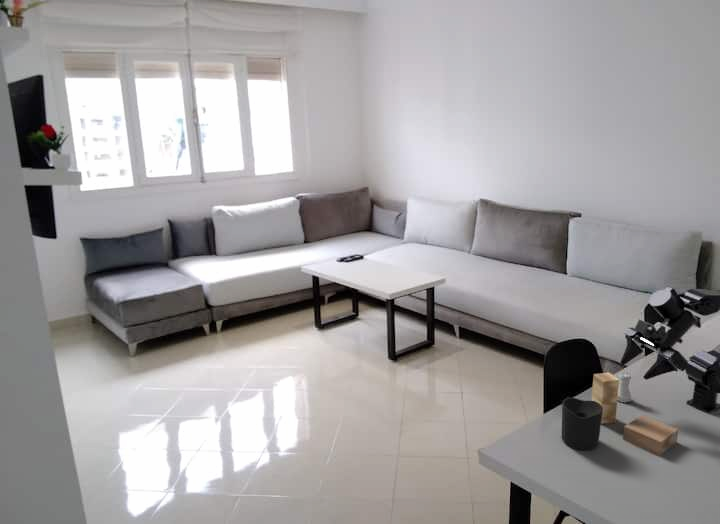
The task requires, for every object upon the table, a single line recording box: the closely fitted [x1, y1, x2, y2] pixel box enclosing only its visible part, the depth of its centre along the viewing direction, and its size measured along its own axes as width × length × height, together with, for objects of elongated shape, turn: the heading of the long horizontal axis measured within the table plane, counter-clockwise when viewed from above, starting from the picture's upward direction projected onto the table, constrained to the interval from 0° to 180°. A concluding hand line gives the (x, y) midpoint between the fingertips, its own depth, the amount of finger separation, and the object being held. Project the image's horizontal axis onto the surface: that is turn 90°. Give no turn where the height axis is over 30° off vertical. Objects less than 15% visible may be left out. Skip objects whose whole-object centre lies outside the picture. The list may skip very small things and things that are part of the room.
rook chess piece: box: [617, 372, 632, 404], centre depth 157 cm, size 4×4×8 cm
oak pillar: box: [590, 372, 620, 425], centre depth 147 cm, size 4×4×12 cm
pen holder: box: [561, 396, 603, 451], centre depth 137 cm, size 9×9×10 cm
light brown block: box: [622, 414, 679, 456], centre depth 137 cm, size 9×9×4 cm
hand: (632, 371), depth 146 cm, fingers open, 9 cm apart
